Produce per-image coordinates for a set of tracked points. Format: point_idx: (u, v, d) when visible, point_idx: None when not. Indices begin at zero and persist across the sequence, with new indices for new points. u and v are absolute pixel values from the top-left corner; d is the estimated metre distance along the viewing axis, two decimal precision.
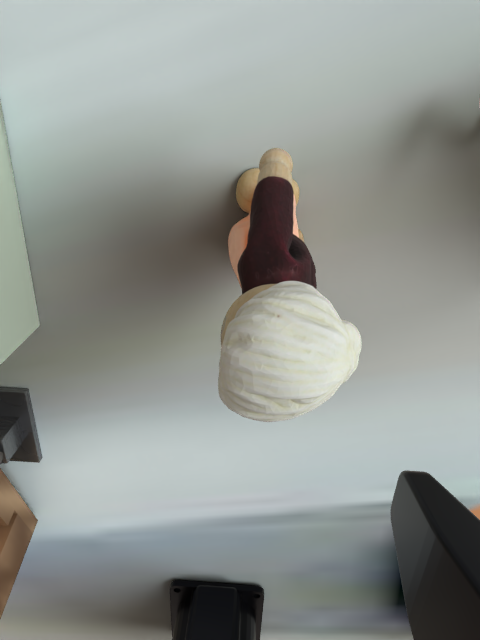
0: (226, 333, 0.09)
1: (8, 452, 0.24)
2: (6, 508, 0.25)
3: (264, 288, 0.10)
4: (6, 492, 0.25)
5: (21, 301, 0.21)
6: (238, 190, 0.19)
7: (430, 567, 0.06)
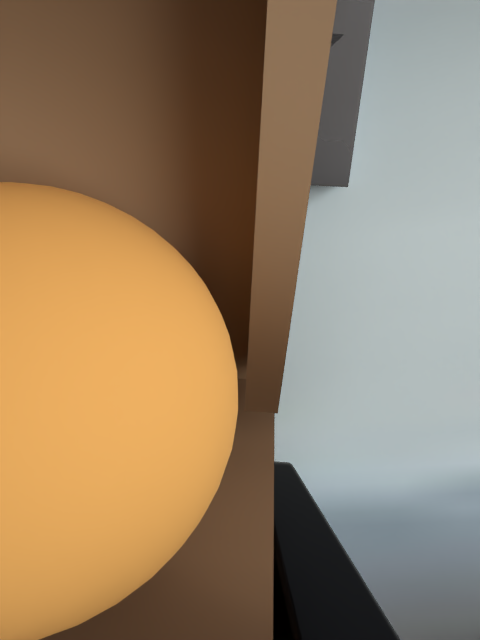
0: None
1: None
2: None
3: None
4: None
5: None
6: None
7: None
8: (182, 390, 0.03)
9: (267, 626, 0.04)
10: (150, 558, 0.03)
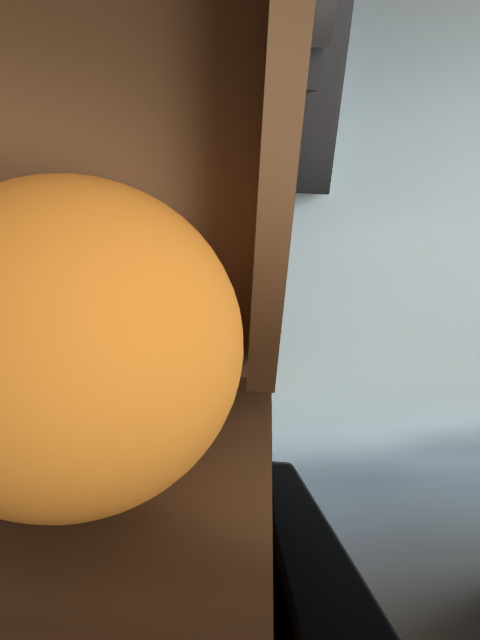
0: None
1: None
2: None
3: None
4: None
5: None
6: None
7: None
8: (205, 305, 0.04)
9: (267, 555, 0.05)
10: (177, 438, 0.04)
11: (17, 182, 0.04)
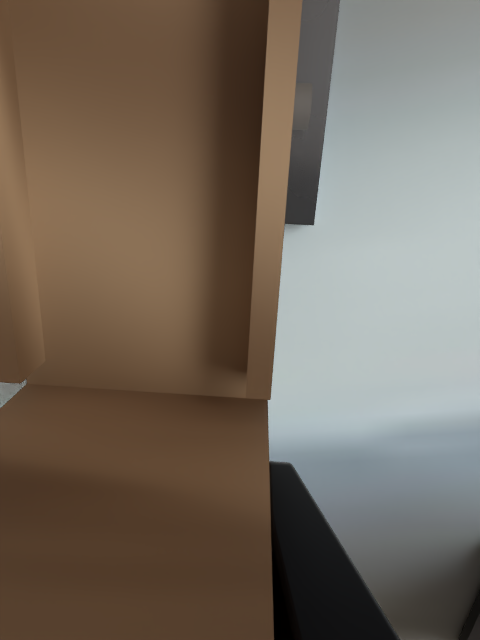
0: None
1: None
2: None
3: None
4: None
5: None
6: None
7: None
8: None
9: (266, 518, 0.05)
10: None
11: None
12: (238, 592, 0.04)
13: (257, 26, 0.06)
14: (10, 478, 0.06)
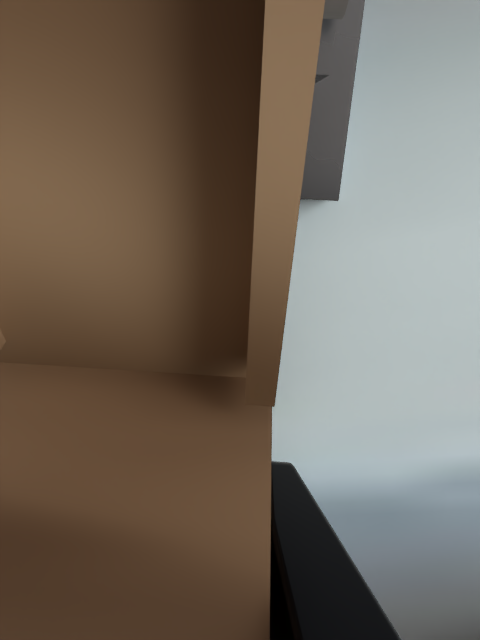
0: None
1: None
2: None
3: None
4: None
5: None
6: None
7: None
8: None
9: (265, 590, 0.05)
10: None
11: None
12: None
13: None
14: None
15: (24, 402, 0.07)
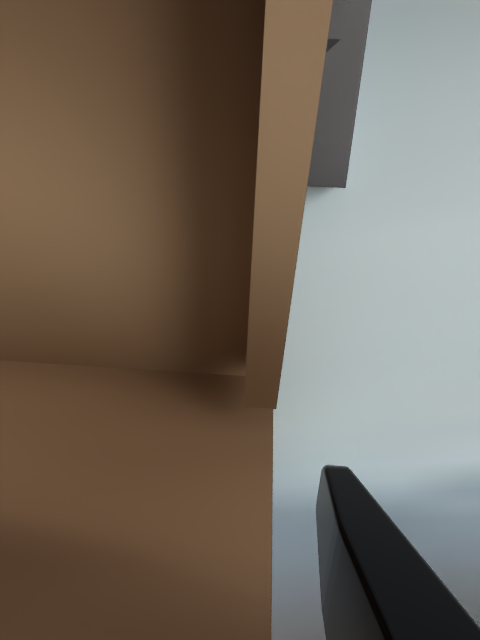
0: None
1: None
2: None
3: None
4: None
5: None
6: None
7: (335, 560, 0.06)
8: None
9: (265, 615, 0.04)
10: None
11: None
12: None
13: None
14: None
15: (5, 403, 0.06)
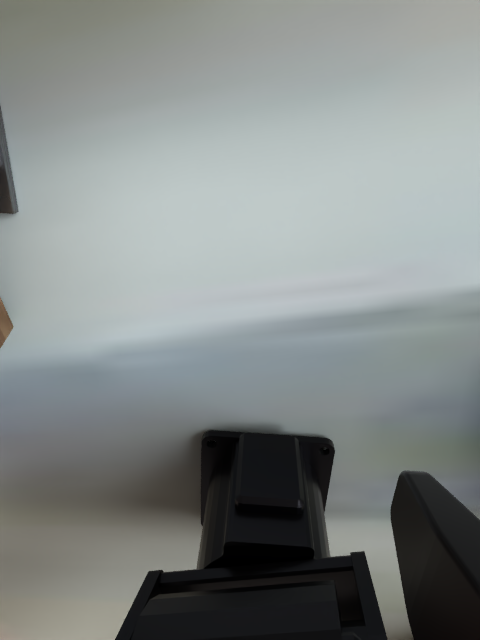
0: None
1: None
2: None
3: None
4: None
5: None
6: None
7: (430, 567, 0.06)
8: None
9: None
10: None
11: None
12: None
13: None
14: None
15: None
